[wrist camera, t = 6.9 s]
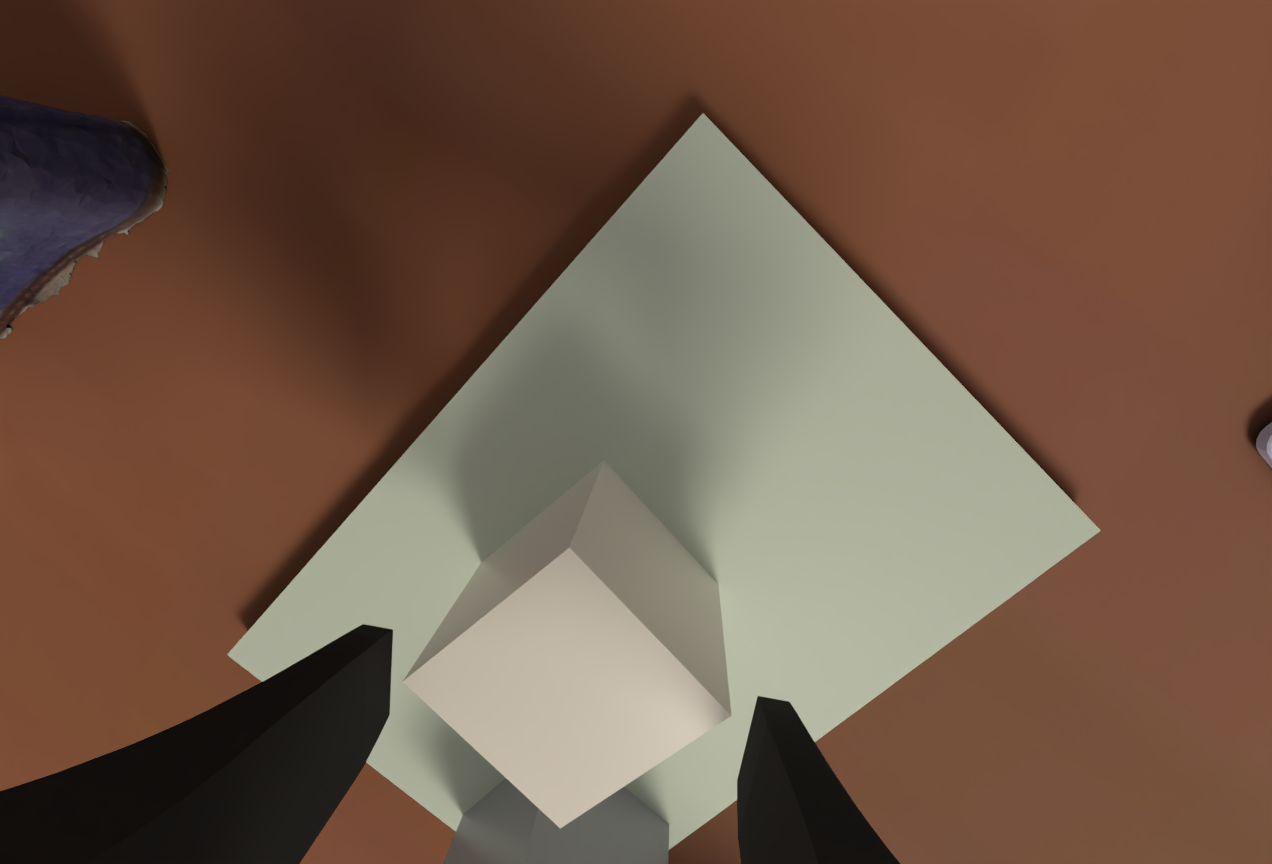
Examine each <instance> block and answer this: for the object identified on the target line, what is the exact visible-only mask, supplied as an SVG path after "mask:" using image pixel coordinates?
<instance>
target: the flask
mask: <svg viewBox="0 0 1272 864" xmlns="http://www.w3.org/2000/svg"><path fill="white" fill-rule="evenodd" d="M169 170H170V169H169V168H167V167H165V163H164V160H163V158H162V157H161V155H160V154H159V152H158V151H157V150H156V148H155V146H154V145H153V144H152V142H151V141H150V140H149V138H148V136H147V135H146V133H145V132H143V131H142V130H140V129H138V128H137V127H136V126H134V125H133V124H132V123H130V122H128V121H120V120H114V119H107V118H103V117H99V116H91V115H85V114H81V113H76V112H70V111H65V110H61V109H56V108H51V107H47V106H43V105H39V104H35V103H31V102H27V101H22V100H18V99H14V98H10V97H6V96H2V95H0V339H2V338H6V336H7V334H9V333H11V332H12V329H11V328H7V324H11V323H12V321H13V320H14V318H16V317H17V316H19V315H21V314H22V312H25V311H26V310H27V307H33V306H35V304H37V302H39V303H41V304H42V303H43V302H45V301H46V300H47V299H48V298H49V297H50V296H52V295H54V294H55V295H58V294H59V290H60V289H61V287H63V286H65V285H67V284H68V282H69V277H71V278H72V276H71V275H70V273H71V272H72V271H73V267H74V265H75V262H74V261H77V260H79V258H82V257H83V256H85V255H89V256H93V257H96V258H98V252H99V251H100V250H101V247H102V245H103V241H105V240H106V239H108V238H109V237H110V236H111V235H115V234H120V233H124V232H125V233H126V234H129V233H128V230H129V229H131V227H132V226H134V225H135V224H137V223H139V222H142V221H143V220H144V219H145V218H146V217H148V216H149V215H150V214H152V213H153V212H155V211H158V210H159V209H161V207H162V205H163V202H164V201H163V199H164V198H165V192H166V188H165V186H167V173H168V172H169Z"/></svg>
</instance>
